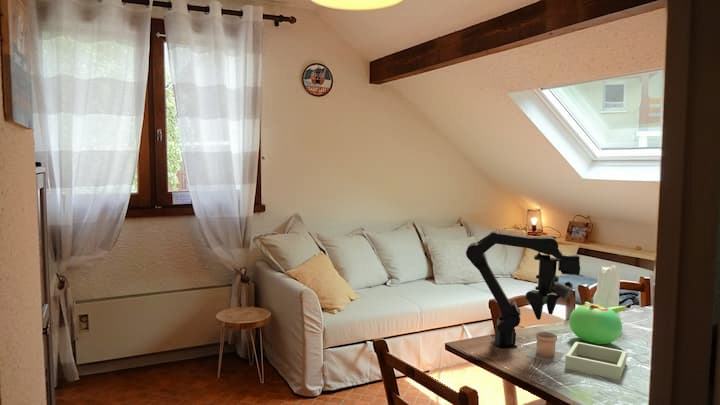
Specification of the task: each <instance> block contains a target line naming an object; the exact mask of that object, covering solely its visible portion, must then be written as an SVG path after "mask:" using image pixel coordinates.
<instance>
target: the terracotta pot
mask: <svg viewBox="0 0 720 405" xmlns="http://www.w3.org/2000/svg"><path fill="white" fill-rule="evenodd" d="M535 339H536V347H535V348H536V354H537V355H538V356H540V357H544V358H553V357H555V352H556V343H557V341H558V335H557V334H556V333H553V332H549V331H537V332H536V333H535Z"/></svg>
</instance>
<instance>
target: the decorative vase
mask: <svg viewBox="0 0 720 405" xmlns="http://www.w3.org/2000/svg"><path fill="white" fill-rule="evenodd" d="M620 275H621V274H620V270H619V266H618V264H617V265H616V264H612V265H611V266H606V267H605V266H603V264H601V265H600V266H599V268H598V271H597V284H596V290H595V293H594V294H593V301H592V302H593V303H592V304H596V305H601V306H605V307H618V306H619V304H620V288H621V287H620V286H621V285H620V284H621V276H620ZM616 314H617V315H618V316H619V318H620V319H621V314H620V312H618V313H616Z"/></svg>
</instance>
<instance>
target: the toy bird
mask: <svg viewBox="0 0 720 405" xmlns="http://www.w3.org/2000/svg"><path fill="white" fill-rule="evenodd" d="M626 309H627V306H624V305H620V306H618V307H605V306H601V305H596V304H593V303H590V302H589V301H585V302H584V304H581V305H578V306H577V307H576V308H574V309H573V310H572V311H571V313H570V315H569V318H568V320H569V321H568V323H569V327H570V330H571V331H572V332H573V334H574V335H575V336H577V338H579V339H580V340H582V341H584V342H587V343H589V344H593V345H607V344H611V343H613V342H615V341H616V340H617V339H619V337H620V336H621V334H622V331H623V324H622V320H621V317H620V318H619V316H618V315H617V314H616V313H618V312H619V313H620V312H622V311H625V310H626Z"/></svg>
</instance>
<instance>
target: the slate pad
mask: <svg viewBox="0 0 720 405" xmlns="http://www.w3.org/2000/svg"><path fill="white" fill-rule="evenodd" d="M564 354H565V353H563V352H559V351H555V357H553V358H544V357H540V356H538V355H537V354H536V347H533V348H532V349H531V350H530V351H529V353H527V355H526V357H529V358H532V359H537V360H541V361H546V362H550V363H551V362H552V363H554V364H556V363H557V364H558V363H559V362H560V360H561V358H562V357H564Z"/></svg>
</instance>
